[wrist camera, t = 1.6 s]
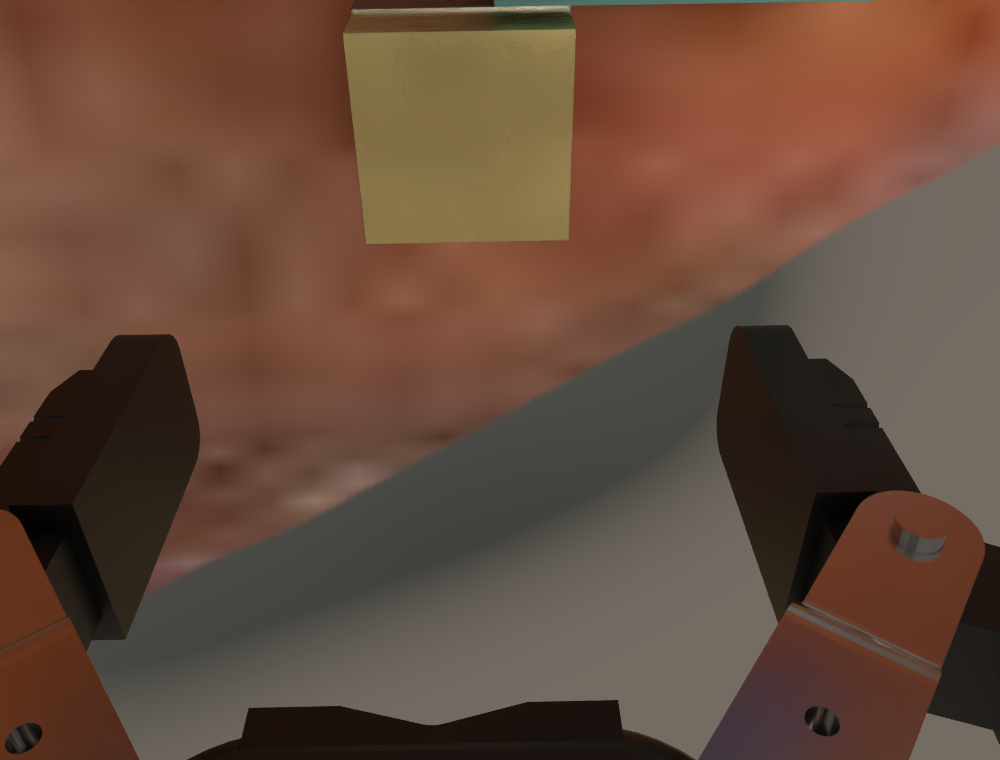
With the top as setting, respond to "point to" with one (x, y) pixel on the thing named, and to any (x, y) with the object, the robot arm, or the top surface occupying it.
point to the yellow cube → (462, 119)
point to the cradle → (633, 2)
